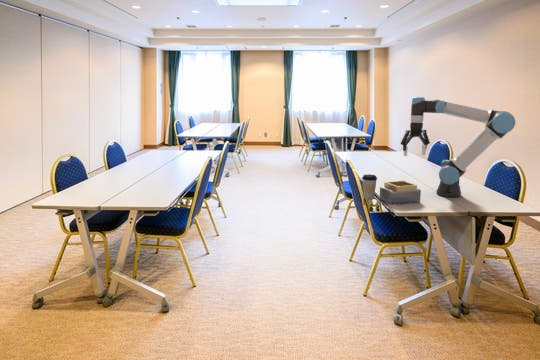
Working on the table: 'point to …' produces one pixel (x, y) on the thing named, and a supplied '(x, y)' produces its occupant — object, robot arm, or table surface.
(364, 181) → the coffee cup
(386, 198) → the open square box
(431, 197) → the table surface
